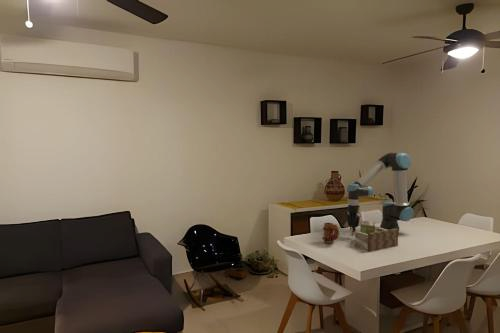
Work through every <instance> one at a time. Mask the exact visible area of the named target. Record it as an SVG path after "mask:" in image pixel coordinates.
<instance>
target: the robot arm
mask: <svg viewBox="0 0 500 333" xmlns="http://www.w3.org/2000/svg"><path fill="white" fill-rule="evenodd" d="M411 162H412V160H411V156H410V155H409V154H407V153H404V152H388V153H386V154H383V156H381V157H380V158H378V160H376V161H375V164H374V165H372V166H371V167H370V168H369V169H368V170H367V171H366V172H364V174H362V175H361V176H360V177H359V178H358V179H356V180H355V182H353V183H349V184H348V185H347V187H346V191H347V192H348V194H347V195H348V197H347V198H348V199H347V209H348V211H347V212H345V215H346V220H347V225H348V226H349V227H350V228H349V230H350V237H351V236H352V237H355V232H356V228H358V227H359V222H360V218H361V217H362V216H361V214H359V208H360V206H359V204H360V202H359V201H360V200H359V199H360V198H359V197H369V196H370V197H371V196H372V195H373V194H374V190H373V187H372V186H371V185H369V183H370V182H371V181H373V180H374V179H375V178H376V177H377V176H378V175H379V174H380V173H382V172H383V171H385V170H387V169H388V168H391V171H392V172H393V176H394V191H395V195H394V196H395V201H386V202H383V203H382V217H381V218H382V220H381V222H380V225H379V228H383V229H387V230H390V229H395V228H396V229H398V232H399V231H400V226H399V223H398V221H400V222H410V221H411V220H412V219H413V217H414V214H415V210H414V209H413V208H412V207H411V204H410V202H408V200H409V199H408V186H407V185H408V183H407V171H408V170H409V167H410V166H411ZM367 185H368V186H367Z"/></svg>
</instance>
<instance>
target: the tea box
mask: <svg viewBox="0 0 500 333" xmlns="http://www.w3.org/2000/svg"><path fill="white" fill-rule="evenodd" d="M359 226H360V227H359V232H362V233H365V234H368V233H373V232H376V224H375V221H373V220H360V225H359Z"/></svg>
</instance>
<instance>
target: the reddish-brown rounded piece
mask: <svg viewBox="0 0 500 333" xmlns="http://www.w3.org/2000/svg"><path fill="white" fill-rule="evenodd" d="M322 230H323V237H322V240H323V242H324V243H325V244H328V245H329V244H333V243H335V242H334V241H335V240H338V237H339V234H340V232H339V226H338V225H337V224H335V223H332V222H324V224H323V228H322Z"/></svg>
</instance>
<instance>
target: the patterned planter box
mask: <svg viewBox="0 0 500 333" xmlns="http://www.w3.org/2000/svg"><path fill="white" fill-rule="evenodd" d="M354 246H355V247H357V248H361V249H362V250H366V251H367V252H369V253H372V252H374V251H375V252H376V251H381V250H384V249H390V248H394V247H398V246H399V231H398V229H396V228H395V229H390V230H387V229H383V228H380V227H377V231H375V232H373V233H368V234H365V233H362V232H360V231H355V236H354Z"/></svg>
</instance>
